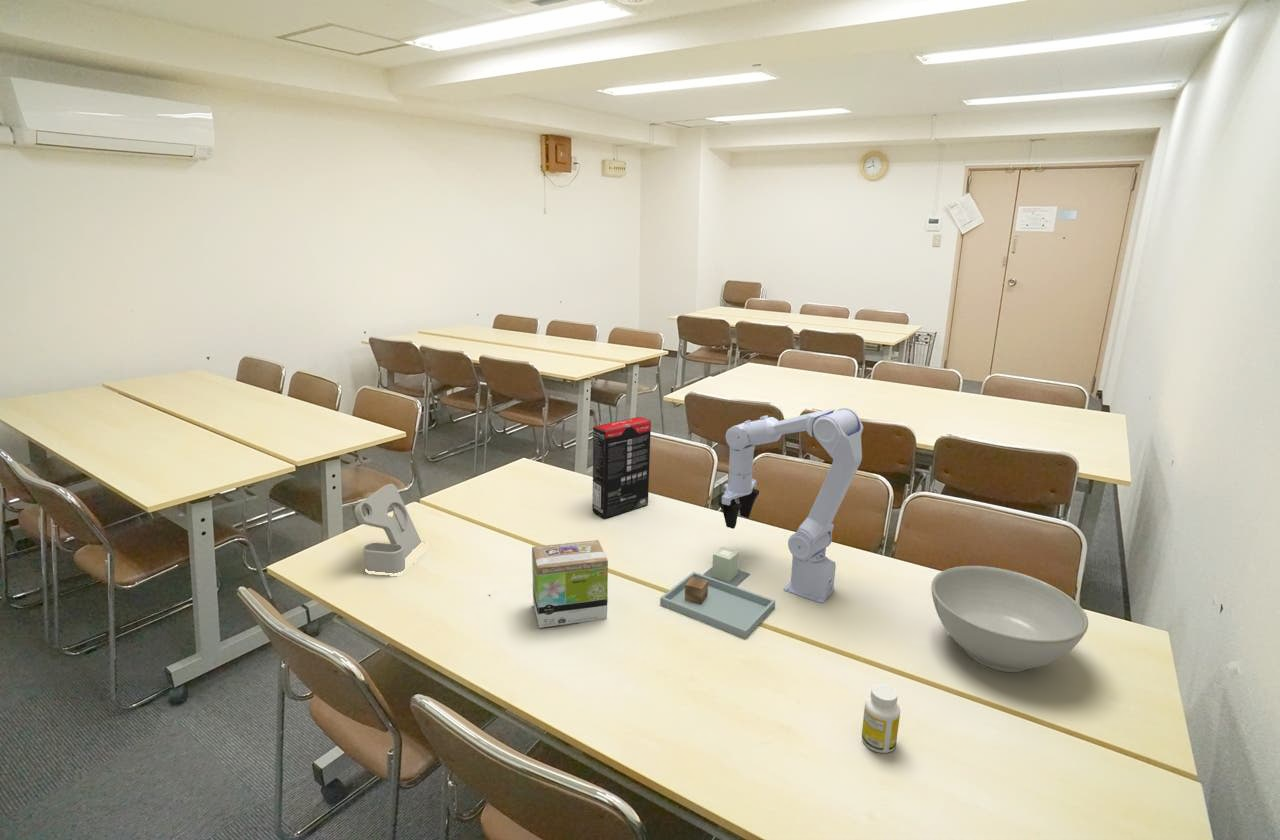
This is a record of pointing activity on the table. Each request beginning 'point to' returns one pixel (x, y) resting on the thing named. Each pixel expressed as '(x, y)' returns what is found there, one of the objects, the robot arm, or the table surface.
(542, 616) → the tea box
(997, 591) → the decorative bowl
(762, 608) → the tray
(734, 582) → the mat
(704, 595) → the walnut block
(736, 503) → the robot arm
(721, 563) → the pale green box
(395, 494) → the phone holder
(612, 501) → the graphics card box
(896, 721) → the supplement bottle
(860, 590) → the table surface
